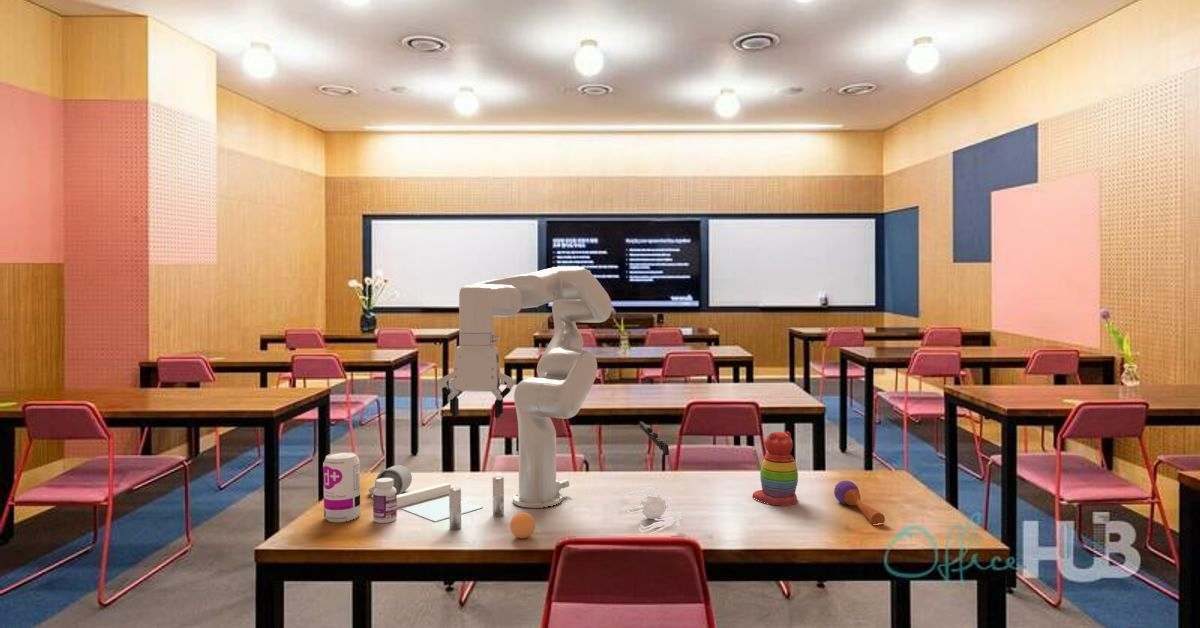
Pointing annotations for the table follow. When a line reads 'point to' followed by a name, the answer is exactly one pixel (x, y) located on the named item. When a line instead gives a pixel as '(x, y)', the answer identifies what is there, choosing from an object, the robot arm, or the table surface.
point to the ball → (522, 525)
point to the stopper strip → (423, 494)
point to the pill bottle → (384, 501)
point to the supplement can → (341, 486)
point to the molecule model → (652, 502)
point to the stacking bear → (778, 471)
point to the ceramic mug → (396, 478)
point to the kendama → (856, 500)
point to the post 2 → (498, 496)
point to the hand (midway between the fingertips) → (476, 416)
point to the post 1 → (455, 508)
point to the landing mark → (438, 509)
